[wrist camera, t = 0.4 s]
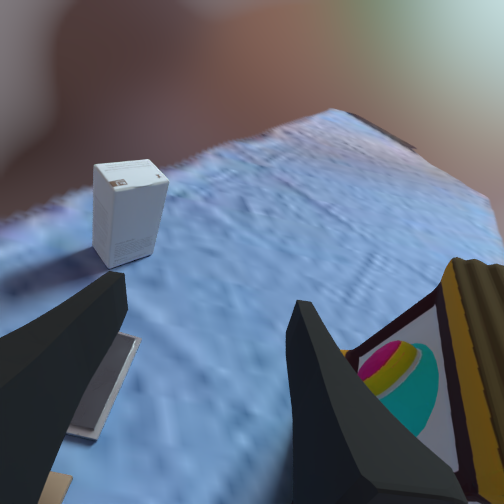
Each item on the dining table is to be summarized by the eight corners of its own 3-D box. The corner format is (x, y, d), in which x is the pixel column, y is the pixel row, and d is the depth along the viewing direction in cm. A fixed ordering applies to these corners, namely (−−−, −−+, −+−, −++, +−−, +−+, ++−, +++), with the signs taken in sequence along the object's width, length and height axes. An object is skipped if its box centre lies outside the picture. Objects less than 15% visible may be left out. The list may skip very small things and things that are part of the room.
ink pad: (97, 441, 23) (97, 437, 22) (-26, 412, 22) (-30, 407, 21) (141, 341, 30) (142, 335, 29) (50, 314, 28) (49, 307, 28)
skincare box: (136, 233, 39) (149, 155, 32) (154, 256, 38) (172, 180, 30) (89, 247, 35) (90, 160, 27) (107, 273, 34) (114, 189, 26)
